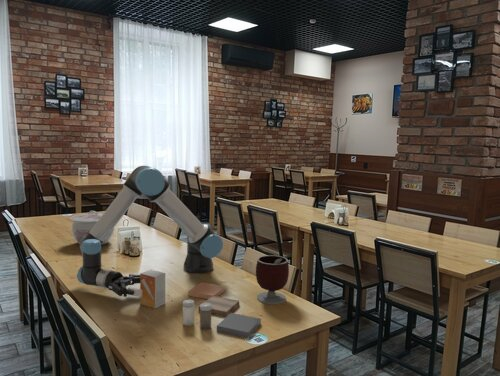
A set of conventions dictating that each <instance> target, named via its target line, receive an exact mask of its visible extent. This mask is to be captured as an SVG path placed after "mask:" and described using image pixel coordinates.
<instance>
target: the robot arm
mask: <svg viewBox="0 0 500 376" xmlns="http://www.w3.org/2000/svg"><path fill="white" fill-rule="evenodd" d="M122 186H123V187H122V189H121V190H120V191H119V193H118V194H117V195H116V197H115V198H114V200H112V202H111V203H110V205H109V206H108V207H107V208H106V210H105V211H104V212H103V213H104V214H103V215H102V216H101V218H100V219H99V220H98V222H97V223H96V224H95V225H94V227H93V228H92V229H91V231H90V232H89V233H88V234H87V236H86V237H84V238H82V239H81V241H80V244H79V250H80V252H81V256H82V266H81V267H80V268H79V269H78V270H77V274H76V278H77V281H78V282H79V283H81V284H84V285H87V286H94V287H97V288H103V289H105V290H106V289H107V290H108V291H112V292H113V293H114V294H115V295H118V296H119V297H122V296H123V297H127V295H129V296H133V297H137V298H140V297H142V290H140V289H139V288H133V287H130V286H134V285H136V284H140V274H133V273H130V274H128V275H123V274H122V273H121V271H115V270H111V269H105V268H102V245H101V244H102V243H103V241H104V240H105V238H106V237H107V236H108V235H109V233H110V232H111V231H112V229H113V228H114V229H115V226H117V225H118V223H119V222H120V220H121V219H122V218H123V216H125V214H126V213H127V211H128V210H129V208H130V207H131V206H132V204H133V203H134V202H135V201H136V199H137V198H140V197H141V196H142V195H143V196H145V198H146V199H147V200H148V201H149V202H150V203H156V204H157V205H158V206H159V207H160V209H162V210H163V212H164V213H166V214H167V216H168V217H169V218H170V219H171V220H172V221H173V222H174V223H175V225H177V226H178V227H179V228H180V230H182V232H184V234H186V237H187V238H186V240H187V241H186V245H187V246H186V247H187V249H186V250H187V251H186V257H185V260H184V262H183V270H184V271H186V272H188V273H193V274H196V273H197V274H202V273H208V272H211V271H213V270H214V263H213V259H214V258H216V257H217V256H218V255H219V254H221V252H222V250H223V246H224V241H223V238H221V236H220V235H219V234H217V233H216V232H215V231H214V230H213V229H212V228H211V224H209V223H202V222H201V221H200V220H199V219H198V218H197V217H196V216H195V214H193V212H192V211H191V210H190V209H189V207H187V206H186V205H185V204H184V203H183V201H181V199H179V197H178V196H177V195H176V194H175V193H174V192H173V191H172V190H171V188H170V187H171V184H170V182H168V181H167V180H166V178H165V177H164V175H163V173H162V172H161V171H160V170H159V169H157V168H155V167H153V166H152V167H151V166H148V165H140V166H137V167H135V168H134V169H133V171H132V172H131V173H130V174H129V176H128V177H127V179H126V180H125V182H123V184H122Z"/></svg>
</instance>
